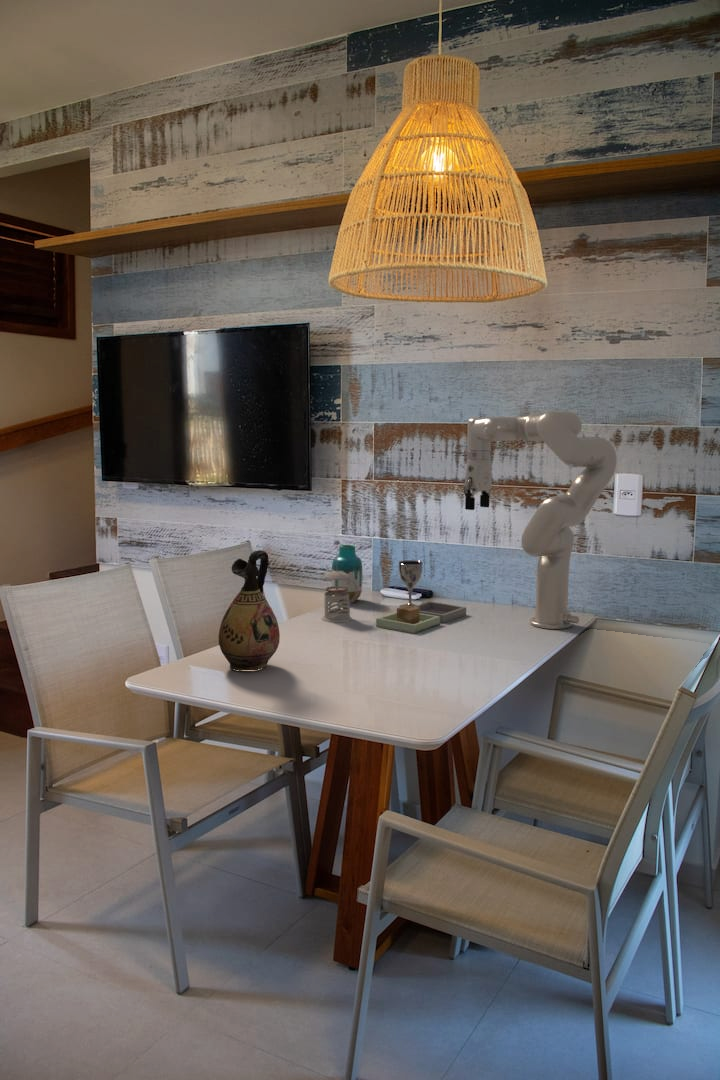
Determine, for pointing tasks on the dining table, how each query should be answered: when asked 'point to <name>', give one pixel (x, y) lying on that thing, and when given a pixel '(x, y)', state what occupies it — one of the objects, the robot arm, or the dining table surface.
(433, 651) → the dining table surface
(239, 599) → the ceramic jug
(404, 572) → the wine glass
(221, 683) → the dining table surface
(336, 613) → the french press
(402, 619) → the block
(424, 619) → the tray
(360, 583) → the vase
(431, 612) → the brown square tray
